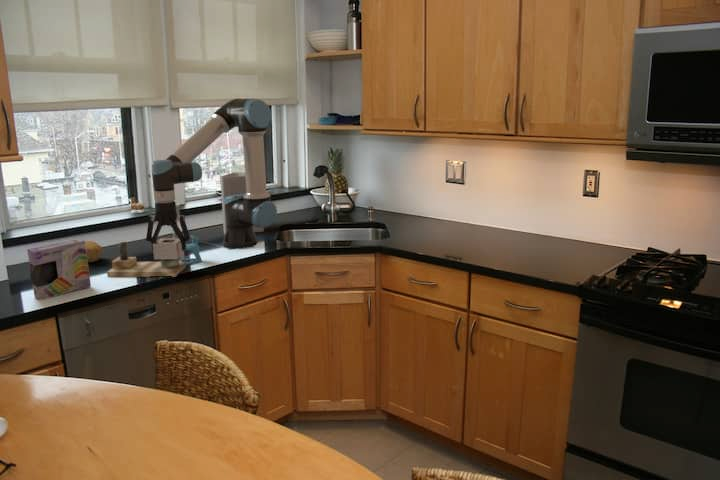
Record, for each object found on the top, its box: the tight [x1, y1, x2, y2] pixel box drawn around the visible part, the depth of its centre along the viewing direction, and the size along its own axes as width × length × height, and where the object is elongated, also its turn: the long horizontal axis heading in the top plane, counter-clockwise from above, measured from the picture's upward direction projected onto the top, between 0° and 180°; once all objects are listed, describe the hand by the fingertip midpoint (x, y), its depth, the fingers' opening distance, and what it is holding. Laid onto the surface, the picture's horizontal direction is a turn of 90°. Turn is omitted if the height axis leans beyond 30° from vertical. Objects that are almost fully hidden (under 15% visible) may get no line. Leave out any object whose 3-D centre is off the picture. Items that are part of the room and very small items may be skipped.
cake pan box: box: [27, 238, 92, 301], centre depth 217 cm, size 19×5×18 cm, turn 138°
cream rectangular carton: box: [220, 172, 265, 235], centre depth 310 cm, size 19×15×28 cm
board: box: [106, 241, 187, 278], centre depth 242 cm, size 26×14×12 cm, turn 88°
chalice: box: [171, 202, 181, 238], centre depth 286 cm, size 7×7×18 cm
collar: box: [152, 237, 186, 260], centre depth 241 cm, size 9×9×6 cm
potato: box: [85, 240, 104, 263], centre depth 258 cm, size 10×14×8 cm
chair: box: [179, 233, 203, 266], centre depth 255 cm, size 8×8×12 cm
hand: (169, 258), depth 242 cm, fingers closed on collar, 9 cm apart
